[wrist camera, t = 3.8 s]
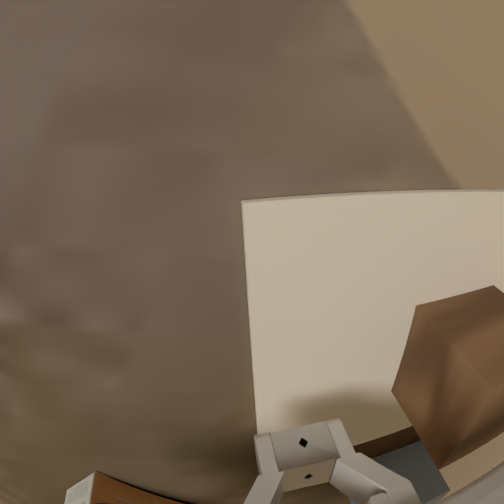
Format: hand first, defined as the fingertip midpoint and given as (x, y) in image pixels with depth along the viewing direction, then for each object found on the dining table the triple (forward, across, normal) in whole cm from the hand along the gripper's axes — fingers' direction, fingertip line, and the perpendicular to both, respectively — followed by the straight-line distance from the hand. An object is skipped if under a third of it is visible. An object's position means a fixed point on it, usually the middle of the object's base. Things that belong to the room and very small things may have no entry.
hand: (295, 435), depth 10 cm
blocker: (+2, -8, 0) cm, 8 cm away
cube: (+3, -8, +12) cm, 15 cm away
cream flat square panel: (+3, -7, 0) cm, 8 cm away
